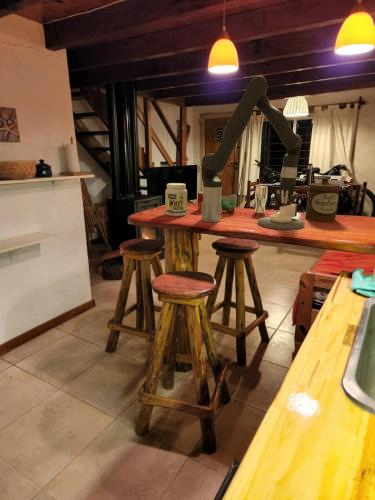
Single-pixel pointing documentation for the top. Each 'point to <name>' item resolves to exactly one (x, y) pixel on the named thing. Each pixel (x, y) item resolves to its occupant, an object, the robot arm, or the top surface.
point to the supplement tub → (176, 199)
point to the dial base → (281, 224)
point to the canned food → (200, 200)
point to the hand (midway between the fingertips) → (284, 210)
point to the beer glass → (260, 198)
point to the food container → (228, 203)
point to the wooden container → (322, 201)
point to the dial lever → (285, 214)
